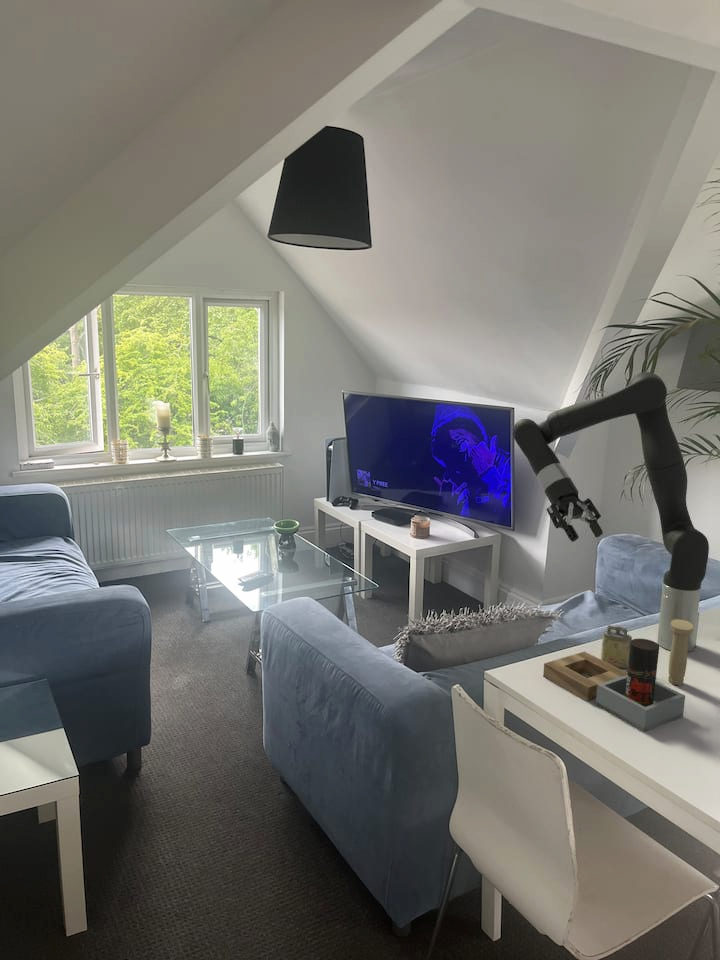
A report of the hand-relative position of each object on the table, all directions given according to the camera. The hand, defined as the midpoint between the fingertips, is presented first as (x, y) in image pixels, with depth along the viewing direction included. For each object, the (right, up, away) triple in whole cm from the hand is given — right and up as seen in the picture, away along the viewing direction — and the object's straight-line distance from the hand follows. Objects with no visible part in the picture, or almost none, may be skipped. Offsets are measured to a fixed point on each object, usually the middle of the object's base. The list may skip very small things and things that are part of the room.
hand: (587, 537), depth 179 cm
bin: (+5, -37, -19) cm, 42 cm away
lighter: (+8, -33, +4) cm, 34 cm away
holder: (-2, -34, -6) cm, 35 cm away
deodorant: (+5, -37, -19) cm, 41 cm away
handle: (+20, -35, -5) cm, 40 cm away
